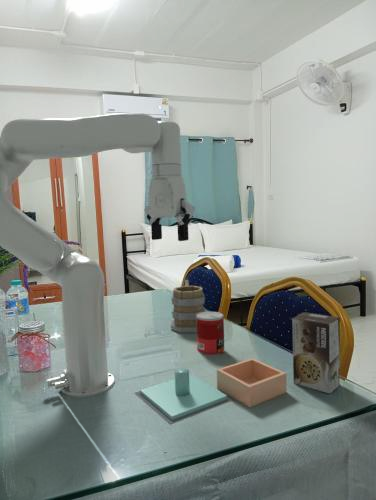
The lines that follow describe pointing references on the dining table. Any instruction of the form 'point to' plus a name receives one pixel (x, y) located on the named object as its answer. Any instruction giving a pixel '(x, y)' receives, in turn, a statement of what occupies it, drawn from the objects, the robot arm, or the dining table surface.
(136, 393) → the mat
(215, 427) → the dining table surface
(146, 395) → the lid
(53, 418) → the dining table surface
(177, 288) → the tankard
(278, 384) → the pink storage bin
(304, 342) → the coffee box
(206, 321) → the canned food
